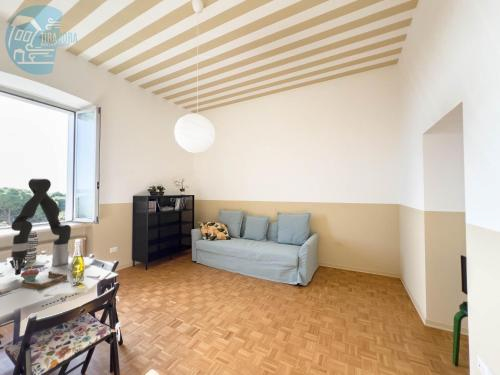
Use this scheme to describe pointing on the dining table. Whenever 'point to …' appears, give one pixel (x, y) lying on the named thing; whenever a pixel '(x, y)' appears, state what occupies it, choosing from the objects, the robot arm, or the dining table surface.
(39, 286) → the walnut corral
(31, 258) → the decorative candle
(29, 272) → the cupcake
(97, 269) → the dining table surface
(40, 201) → the robot arm
